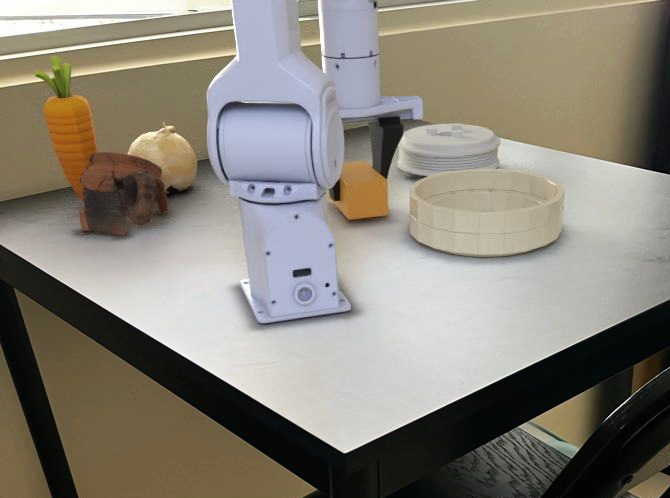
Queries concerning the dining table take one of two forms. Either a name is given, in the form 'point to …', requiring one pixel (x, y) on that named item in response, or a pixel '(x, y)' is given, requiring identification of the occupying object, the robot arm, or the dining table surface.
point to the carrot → (69, 125)
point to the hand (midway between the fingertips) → (357, 196)
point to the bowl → (486, 211)
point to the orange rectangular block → (362, 191)
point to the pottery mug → (120, 192)
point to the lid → (447, 149)
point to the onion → (168, 156)
